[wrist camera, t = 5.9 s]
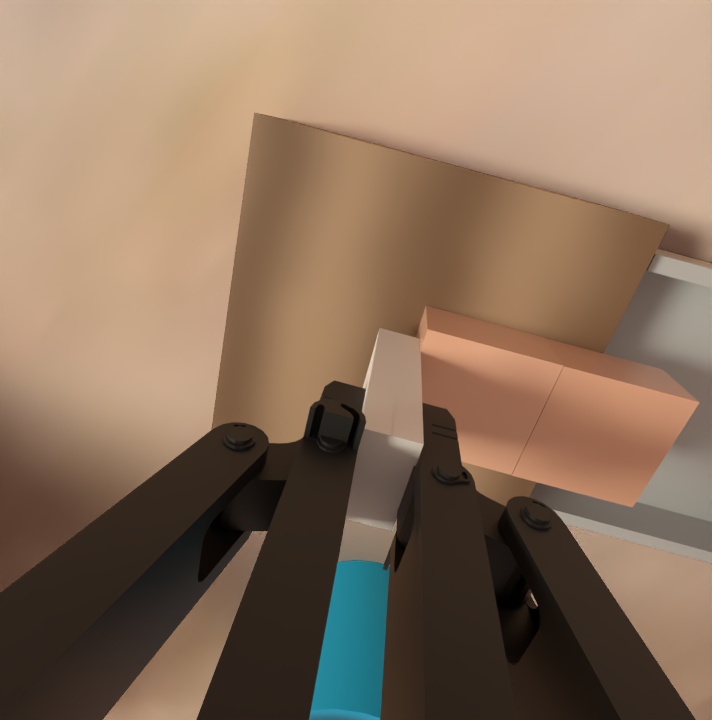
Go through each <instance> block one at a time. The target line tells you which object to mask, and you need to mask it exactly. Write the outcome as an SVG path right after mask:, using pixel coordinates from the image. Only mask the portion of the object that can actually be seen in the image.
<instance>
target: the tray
mask: <svg viewBox="0 0 712 720" xmlns="http://www.w3.org/2000/svg"><path fill="white" fill-rule="evenodd" d="M603 354H607V355H611V356H614V357H618V358H622V359H626V360H629V361H633V362H637V363H641V364H644V365H648V366H652V367H656V368H660V369H663V370H664V371H665V372H666V373H667V374H668V375H669V376H670V377H672V378H673V379H674V380H675V381H676V382H677V383H678V384H680V385H681V386H682V387H683V388H684V389H685V390H686V391H687V392H689V393H690V394H691V395H692V396H693V397H694V398H695V399H696V400H698V401H699V402H700V403H699V404H698V406H697V407H696V409H695V411H694V412H693V414H692V415H691V417H690V418H689V420H688V422H687V423H686V425H685V426H684V428H683V429H682V431H681V432H680V434H679V436H678V437H677V439H676V440H675V442H674V443H673V445H672V447H671V448H670V450H669V451H668V453H667V454H666V456H665V458H664V459H663V461H662V462H661V464H660V465H659V467H658V468H657V470H656V472H655V473H654V475H653V476H652V478H651V479H650V481H649V483H648V484H647V486H646V487H645V489H644V490H643V492H642V493H641V495H640V497H639V498H638V500H637V501H636V503H635V504H634V506H633V508H632V507H629V506H625V505H621V504H617V503H614V502H610V501H606V500H602V499H598V498H595V497H591V496H587V495H583V494H579V493H576V492H572V491H568V490H564V489H561V488H557V487H553V486H549V485H545V484H542V483H538V482H537V483H536V485H535V487H534V489H533V491H532V492H531V494H530V496H529V498H533V499H535V500H538V501H540V502H542V503H544V504H545V505H547V506H548V507H549V508H551V509H552V510H554V511H555V512H556V513H557V515H558V516H559V517H560V518H561V519H562V520H563V522H564V523H565V524H566V525H570V526H573V527H577V528H581V529H585V530H588V531H592V532H596V533H599V534H603V535H607V536H611V537H614V538H618V539H622V540H625V541H629V542H633V543H636V544H640V545H644V546H648V547H651V548H655V549H659V550H662V551H666V552H670V553H674V554H677V555H681V556H685V557H688V558H692V559H696V560H700V561H703V562H707V563H711V564H712V263H709V262H705V261H701V260H698V259H694V258H690V257H687V256H683V255H679V254H675V253H672V252H668V251H664V250H661V249H657V250H656V252H655V254H654V256H653V258H652V260H651V262H650V264H649V266H648V268H647V270H646V272H645V273H644V275H643V277H642V279H641V281H640V283H639V285H638V287H637V289H636V291H635V293H634V295H633V297H632V299H631V301H630V303H629V304H628V306H627V308H626V310H625V312H624V314H623V316H622V318H621V320H620V322H619V324H618V326H617V328H616V330H615V332H614V334H613V335H612V337H611V339H610V341H609V343H608V345H607V347H606V349H605V351H604V353H603Z"/></svg>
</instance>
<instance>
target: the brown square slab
mask: <svg viewBox="0 0 712 720" xmlns="http://www.w3.org/2000/svg"><path fill="white" fill-rule="evenodd" d="M668 227H669V225H668V224H665V223H661V222H658V221H655V220H651V219H648V218H645V217H641V216H638V215H635V214H632V213H628V212H625V211H621V210H617V209H614V208H610V207H606V206H603V205H599V204H595V203H592V202H588V201H584V200H581V199H577V198H573V197H569V196H566V195H562V194H558V193H555V192H551V191H547V190H544V189H540V188H536V187H533V186H529V185H525V184H521V183H518V182H514V181H510V180H507V179H503V178H499V177H496V176H492V175H488V174H485V173H481V172H477V171H473V170H470V169H466V168H462V167H459V166H455V165H451V164H448V163H444V162H440V161H437V160H433V159H429V158H425V157H422V156H418V155H414V154H411V153H407V152H403V151H400V150H396V149H392V148H389V147H385V146H381V145H377V144H374V143H370V142H366V141H363V140H359V139H355V138H352V137H348V136H344V135H341V134H337V133H333V132H329V131H326V130H322V129H318V128H315V127H311V126H307V125H304V124H300V123H296V122H292V121H289V120H285V119H281V118H277V117H272V116H268V115H263V114H259V113H254V119H253V127H252V134H251V141H250V149H249V156H248V164H247V171H246V178H245V186H244V193H243V201H242V208H241V215H240V223H239V230H238V238H237V245H236V252H235V260H234V267H233V275H232V282H231V289H230V297H229V304H228V312H227V319H226V326H225V334H224V341H223V349H222V356H221V363H220V371H219V378H218V386H217V393H216V400H215V408H214V415H213V423H212V430H213V429H214V428H216V427H218V426H220V425H222V424H226V423H231V422H238V423H247V424H250V425H253V426H256V427H257V428H259V429H261V430H262V431H264V433H265V434H266V435H267V437H268V439H269V443H290V442H295V441H297V440H300V439H301V438H303V436H304V432H305V427H306V423H307V419H308V414H309V410H310V407H311V406H312V404H313V403H314V402H316V401H319V400H320V398H321V395H322V392H323V390H324V387H325V386H326V385H328V384H329V383H331V382H332V381H334V380H335V381H339V382H342V383H346V384H350V385H354V386H357V387H361V388H363V385H364V381H365V378H366V374H367V371H368V367H369V364H370V360H371V357H372V353H373V349H374V346H375V342H376V339H377V335H378V332H379V328H382V329H386V330H389V331H393V332H397V333H401V334H404V335H408V336H412V337H416V335H417V332H418V328H419V325H420V322H421V319H422V316H423V313H424V310H425V307H426V306H429V307H433V308H437V309H440V310H444V311H448V312H452V313H455V314H459V315H463V316H466V317H470V318H474V319H478V320H481V321H485V322H489V323H493V324H496V325H500V326H504V327H507V328H511V329H515V330H519V331H522V332H526V333H530V334H534V335H537V336H541V337H544V338H547V339H550V340H554V341H558V342H562V343H565V344H569V345H573V346H577V347H580V348H584V349H588V350H592V351H596V352H599V353H604V351H605V349H606V347H607V345H608V343H609V341H610V339H611V337H612V335H613V334H614V332H615V330H616V328H617V326H618V324H619V322H620V320H621V318H622V316H623V314H624V312H625V310H626V308H627V306H628V304H629V303H630V301H631V299H632V297H633V295H634V293H635V291H636V289H637V287H638V285H639V283H640V281H641V279H642V277H643V275H644V273H645V272H646V270H647V268H648V266H649V264H650V262H651V260H652V258H653V256H654V254H655V252H656V250H657V248H658V246H659V244H660V242H661V241H662V239H663V237H664V235H665V233H666V231H667V229H668ZM462 466H463V467H465V468H466V469H467V470H468V471H469V472H470V474H471V475H472V477H473V479H474V481H475V486H476V490H477V491H478V492H480V493H481V494H483V495H484V496H486V497H488V498H490V499H492V500H494V501H496V502H498V503H500V504H502V505H504V506H506V504H507V502H508V500H510V499H511V498H513V497H517V496H525V497H529V496H530V494H531V492H532V491H533V489H534V487H535V485H536V483H537V482H534V481H530V480H527V479H523V478H519V477H515V476H512V475H509V474H506V473H502V472H498V471H495V470H491V469H487V468H483V467H480V466H476V465H472V464H469V463H465V462H462Z"/></svg>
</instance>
